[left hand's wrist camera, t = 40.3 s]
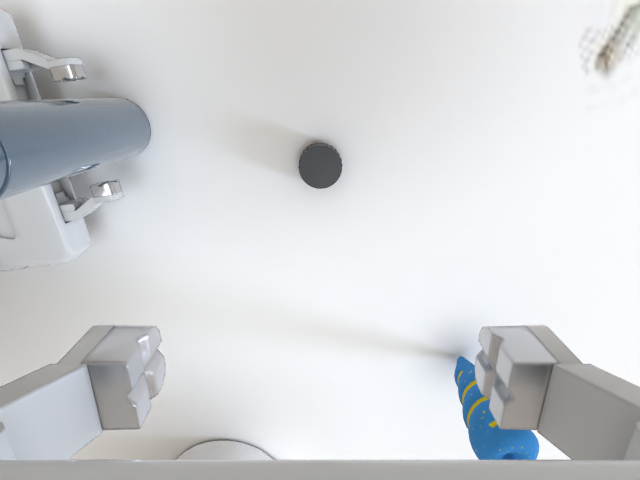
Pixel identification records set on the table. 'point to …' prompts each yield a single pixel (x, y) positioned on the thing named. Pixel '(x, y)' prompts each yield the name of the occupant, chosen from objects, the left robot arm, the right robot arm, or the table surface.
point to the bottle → (65, 139)
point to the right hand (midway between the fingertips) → (100, 131)
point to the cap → (320, 165)
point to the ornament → (489, 423)
